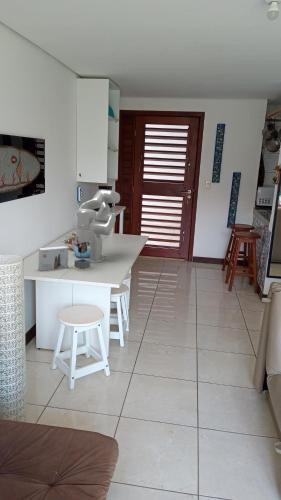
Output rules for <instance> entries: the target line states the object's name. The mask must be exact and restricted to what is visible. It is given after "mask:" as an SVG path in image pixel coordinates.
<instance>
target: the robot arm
mask: <svg viewBox="0 0 281 500" xmlns="http://www.w3.org/2000/svg"><path fill="white" fill-rule="evenodd" d="M120 200H121V195H120V193H118V192H117V191H114V190H111V189H101V188H100V189H98V191H96V193H95V194H94V196H93V197H92V199H90V200H87V201H85V202H83V203H82V204H81V205H80V206H79V208H78V209H77V210H76V211H77V212H76V215H77V217H78V221H77V229H76V233H75V240H74V245H75V246H77V248H78V252H80V253H81V244H82V243H86V250H85V252H87V246H88V247H89V249H90V256H89V257H88V258H87V261H90V263H94V264H95V263H96V264H97V263H103V262H104V258H106V257H107V255H106V254H103V238H102V235H103V236H109V235H111V233H112V230H113V228H114V225H115V223H116V221H117V220H116V218H117V217H116V214H115V213H113V212H111V208H110V205H109V204H110V203H111V204H119V203H120ZM108 203H109V204H108ZM95 209H98V212H96V210H95ZM90 220H91V222H90V224H89V221H90ZM93 220H95V221H93ZM102 261H103V262H102Z"/></svg>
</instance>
